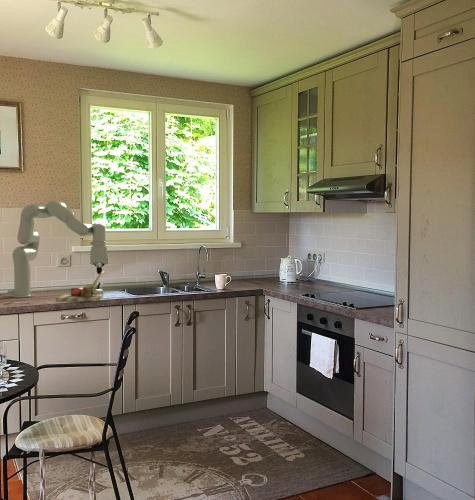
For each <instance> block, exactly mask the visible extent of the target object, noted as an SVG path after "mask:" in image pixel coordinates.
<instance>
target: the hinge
mask: <svg viewBox="0 0 475 500" xmlns="http://www.w3.org/2000/svg"><path fill="white" fill-rule="evenodd" d="M103 285H104V283H103V282H100V281H98V282H97V283H96V284H95V286H94V290H103V289H102V288H103V287H104V286H103ZM94 295H97V294H94Z"/></svg>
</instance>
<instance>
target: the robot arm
mask: <svg viewBox="0 0 475 500" xmlns="http://www.w3.org/2000/svg"><path fill="white" fill-rule="evenodd" d="M50 217H55V218H56V219H58V220H60V222H63V223H64V224H65V225H66V226H67V228H69V230H71V231H72V232H74V233H76V234H77V235H78V236H81V237H86V236H88V237H89V236H92V241H91V242H90V245H92V246H91V247H90V256H89V258H90V259H89V260H90V263H89V264H90V265H93V266H94V267H96V273H97V275H99V274H100V273H101V272H103V267H104V266H106V265H109V261H108V259H109V254H108V247H107V246H106V225H105V224H104V223H83V222H82V221H80V220H79V219H77V218H76V217H75V213H74V211H72V210H71V209H70V208H67V205H66V204H65V203H64V201H61V200H49V202H48V203H46V204H41V203H40V204H38V203H34V204H33V203H32V204H28V205H26V206H25V207H24V208H23V209H21V212H20V218H19V220H20V221H19V226H18V231H17V238H16V239H17V242H18V243H19V244H20V245H21V246H17V247H16V248H14V249H13V251H12V253H11V254H12V260H13V261H12V263H13V275H14V276H13V278H14V279H13V281H14V284H13V285H14V286H13V287H14V288H13V289H8V290H7V294H11V297H12V298H31V297H33V296H34V293H31V265H30V261H33V260H35V259H36V258H37V256H38V251H39V246H40V242H41V241H40V239H41V238H40V236H41V235H40V233H39V232H38V231H37V229H36V230H35V229H34V228H35V219H36V218H37V219H46V218H50ZM22 245H23V246H22Z"/></svg>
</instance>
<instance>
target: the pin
mask: <svg viewBox="0 0 475 500" xmlns="http://www.w3.org/2000/svg"><path fill="white" fill-rule="evenodd" d="M81 290H83V287H71V290H70V295H71V296H81ZM104 293H105V292H104V289H101V290H91V294H97V295H103V296H104Z"/></svg>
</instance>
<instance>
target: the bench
mask: <svg viewBox="0 0 475 500" xmlns="http://www.w3.org/2000/svg"><path fill="white" fill-rule="evenodd" d="M91 285H92V284H91ZM91 285H89V284H86V286H83V287H82V288H83V290H81V296H71V294H60V295H59V296H57V297H56V302H100V301H101V300H103V297H104V294H103V295H94V294H91V290H94V288H95V286H93V287H91ZM100 299H101V300H100Z"/></svg>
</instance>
